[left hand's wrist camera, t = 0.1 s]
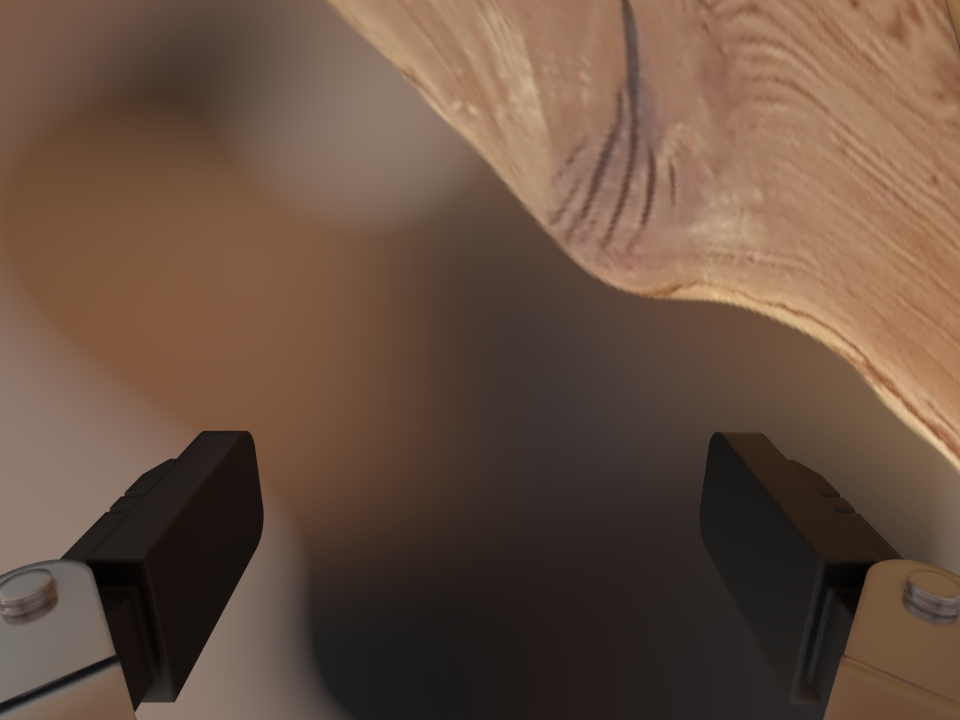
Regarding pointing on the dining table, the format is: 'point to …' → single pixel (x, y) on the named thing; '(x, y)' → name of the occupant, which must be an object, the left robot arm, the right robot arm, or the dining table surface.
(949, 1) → the box
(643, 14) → the dining table surface
